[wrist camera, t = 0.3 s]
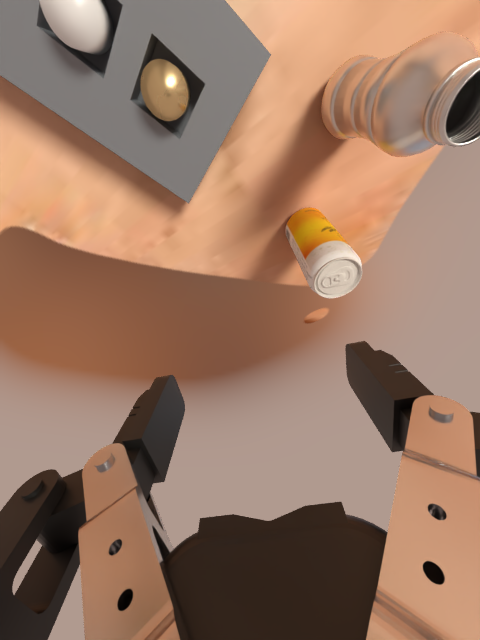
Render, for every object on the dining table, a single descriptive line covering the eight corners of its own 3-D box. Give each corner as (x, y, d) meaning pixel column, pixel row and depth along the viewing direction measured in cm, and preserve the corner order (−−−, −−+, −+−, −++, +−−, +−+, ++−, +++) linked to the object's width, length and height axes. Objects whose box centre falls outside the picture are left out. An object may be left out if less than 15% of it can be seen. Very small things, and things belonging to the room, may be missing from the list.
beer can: (325, 236, 39) (366, 291, 28) (288, 249, 41) (314, 307, 30) (320, 199, 35) (366, 246, 24) (280, 214, 37) (306, 266, 26)
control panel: (-124, -28, 21) (-180, -47, 18) (-186, -460, 12) (-313, -633, 9) (191, 193, 34) (188, 203, 31) (265, 59, 25) (271, 54, 23)
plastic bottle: (313, 140, 31) (399, 183, 16) (319, 62, 26) (447, 23, 11) (365, 132, 30) (500, 167, 16) (380, 52, 26) (591, -3, 11)
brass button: (142, 98, 25) (133, 98, 23) (159, 49, 23) (151, 44, 20) (179, 128, 27) (174, 131, 25) (197, 86, 25) (195, 85, 22)
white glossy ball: (56, 27, 22) (34, 18, 19) (66, -37, 20) (42, -57, 17) (105, 67, 24) (91, 64, 21) (119, 12, 21) (105, 1, 19)
